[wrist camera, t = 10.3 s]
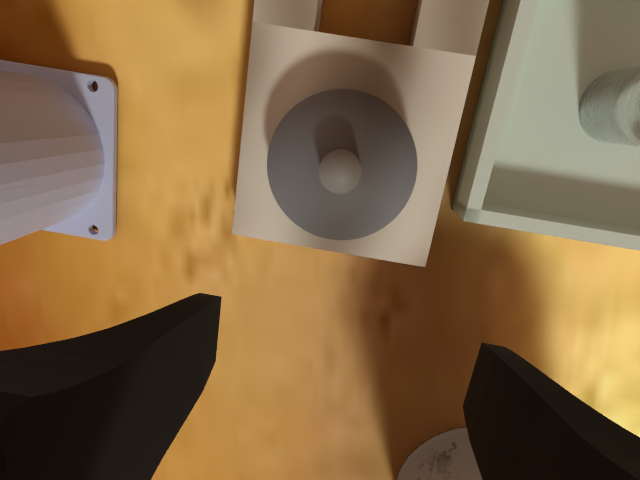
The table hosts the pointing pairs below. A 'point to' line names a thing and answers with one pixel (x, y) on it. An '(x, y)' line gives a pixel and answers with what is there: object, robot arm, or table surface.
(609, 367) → the table surface
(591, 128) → the pin
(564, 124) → the tray
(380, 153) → the white holder block
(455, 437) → the grey cylinder
